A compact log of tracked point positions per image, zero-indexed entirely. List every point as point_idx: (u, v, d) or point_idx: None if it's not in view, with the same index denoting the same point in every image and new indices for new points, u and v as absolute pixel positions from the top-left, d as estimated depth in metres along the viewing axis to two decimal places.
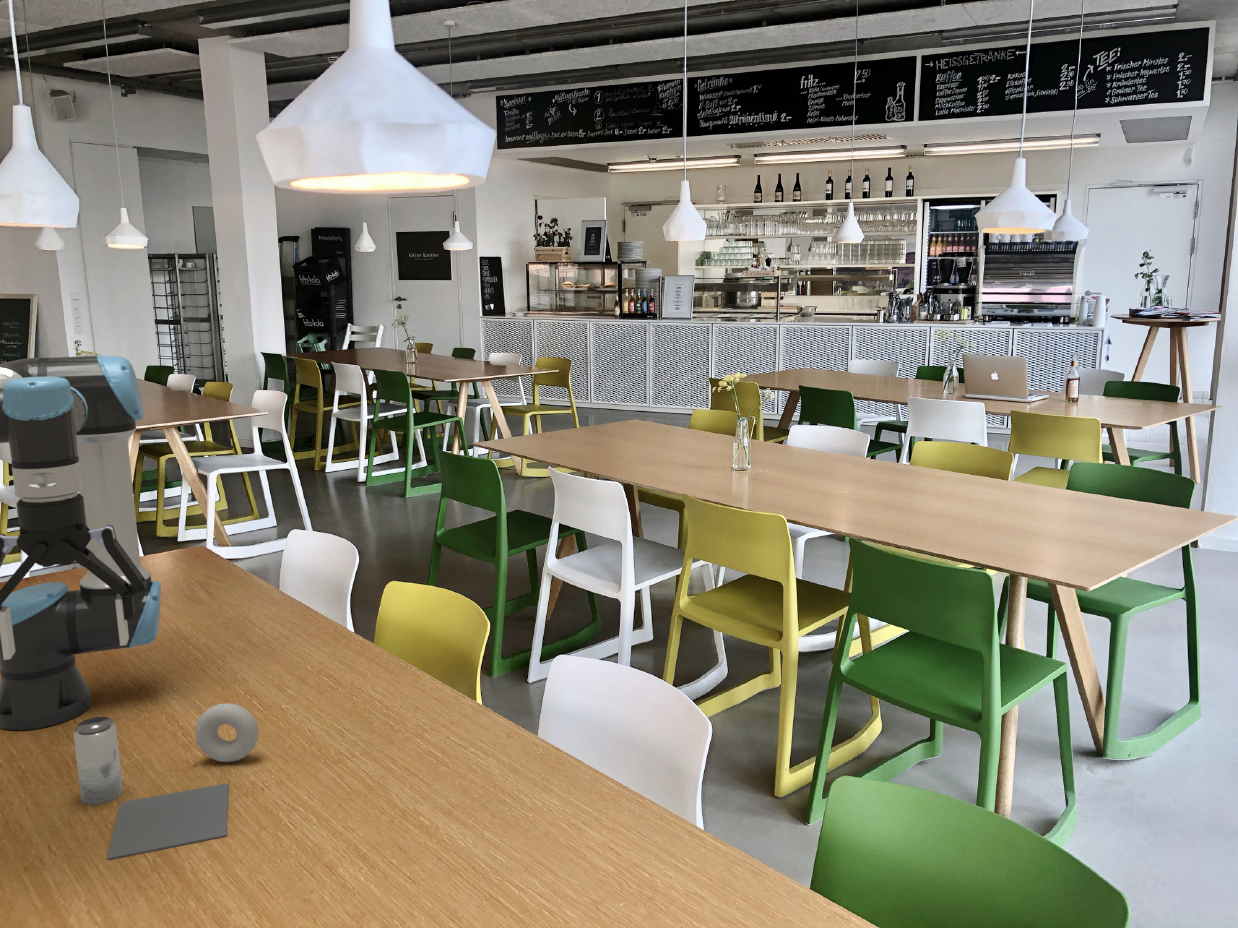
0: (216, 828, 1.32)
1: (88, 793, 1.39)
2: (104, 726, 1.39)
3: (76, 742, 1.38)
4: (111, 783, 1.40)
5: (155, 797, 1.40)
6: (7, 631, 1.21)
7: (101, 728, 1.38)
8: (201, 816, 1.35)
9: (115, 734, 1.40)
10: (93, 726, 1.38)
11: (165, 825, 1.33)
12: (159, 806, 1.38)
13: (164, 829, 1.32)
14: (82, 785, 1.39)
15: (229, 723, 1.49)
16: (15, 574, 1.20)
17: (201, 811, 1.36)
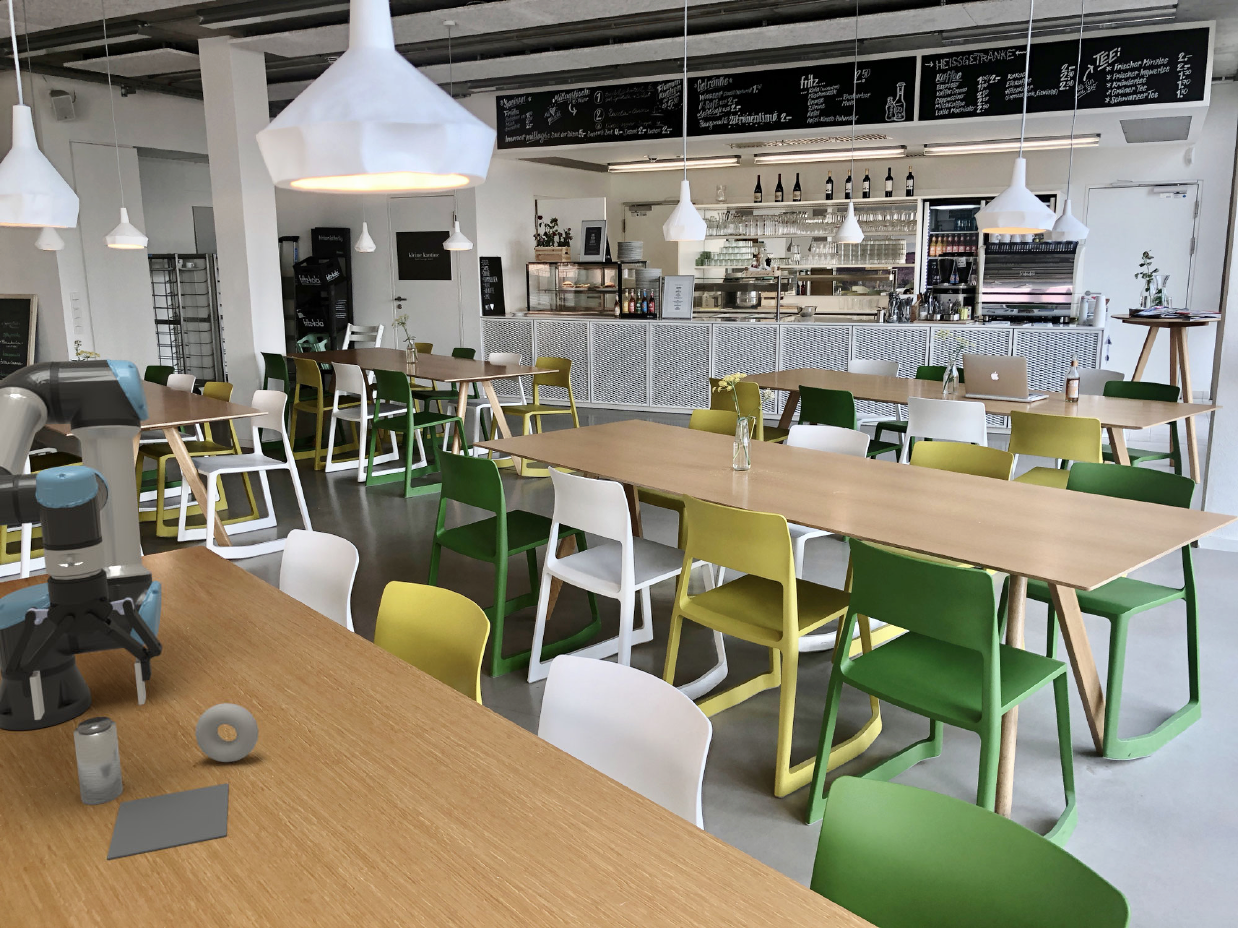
0: (216, 828, 1.32)
1: (88, 793, 1.39)
2: (104, 726, 1.39)
3: (76, 742, 1.37)
4: (111, 783, 1.40)
5: (155, 797, 1.40)
6: (38, 694, 1.35)
7: (101, 728, 1.38)
8: (201, 816, 1.35)
9: (115, 734, 1.40)
10: (93, 726, 1.38)
11: (165, 825, 1.33)
12: (159, 806, 1.38)
13: (164, 829, 1.32)
14: (82, 785, 1.39)
15: (229, 723, 1.49)
16: (45, 643, 1.34)
17: (201, 811, 1.36)
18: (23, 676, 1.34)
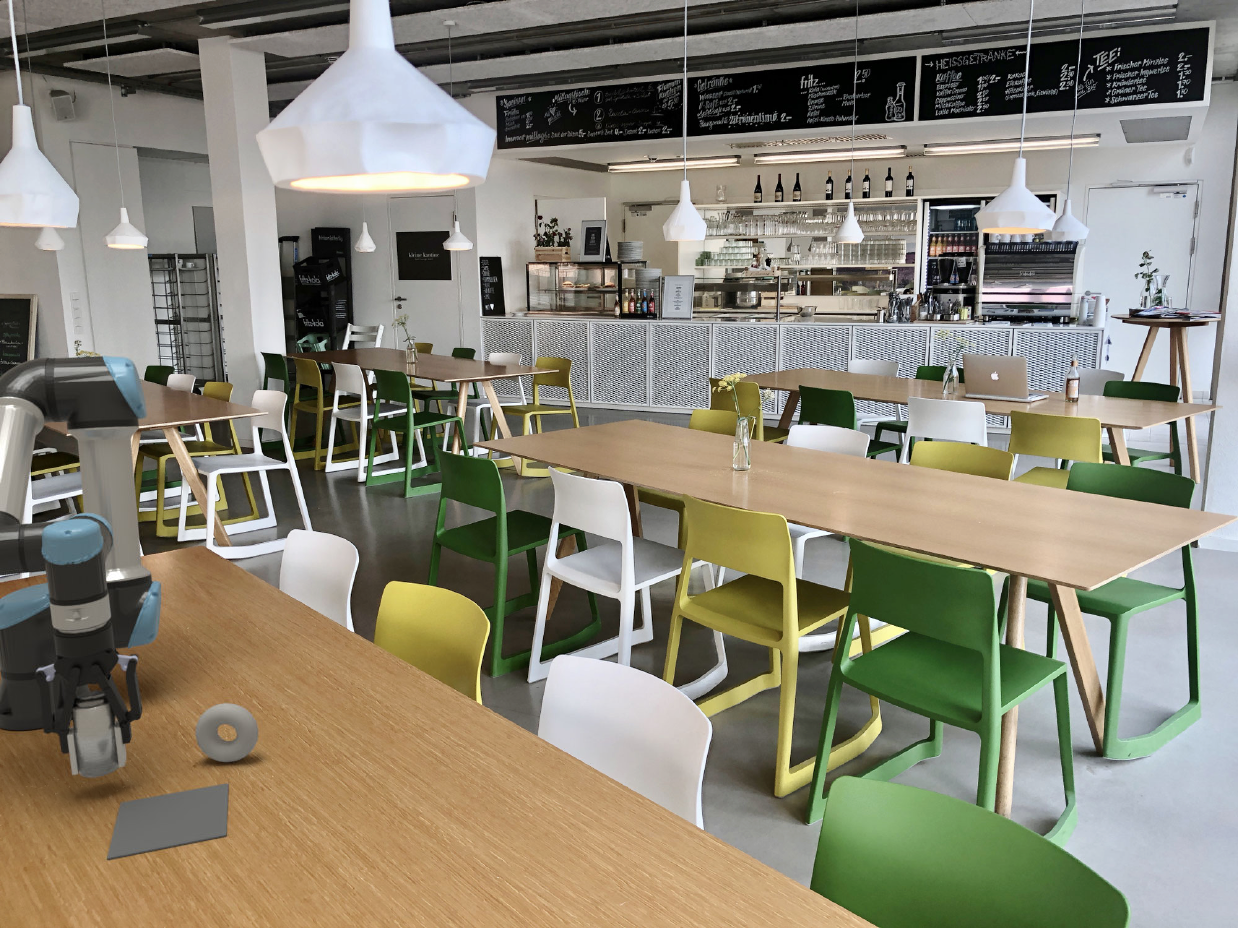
0: (216, 828, 1.32)
1: (86, 766, 1.39)
2: (102, 700, 1.38)
3: (74, 715, 1.37)
4: (109, 756, 1.40)
5: (155, 797, 1.40)
6: (75, 750, 1.39)
7: (99, 702, 1.38)
8: (201, 816, 1.35)
9: None
10: (91, 700, 1.38)
11: (165, 825, 1.33)
12: (159, 806, 1.38)
13: (164, 829, 1.32)
14: (80, 758, 1.39)
15: (229, 723, 1.49)
16: (66, 699, 1.37)
17: (201, 811, 1.36)
18: (62, 734, 1.37)
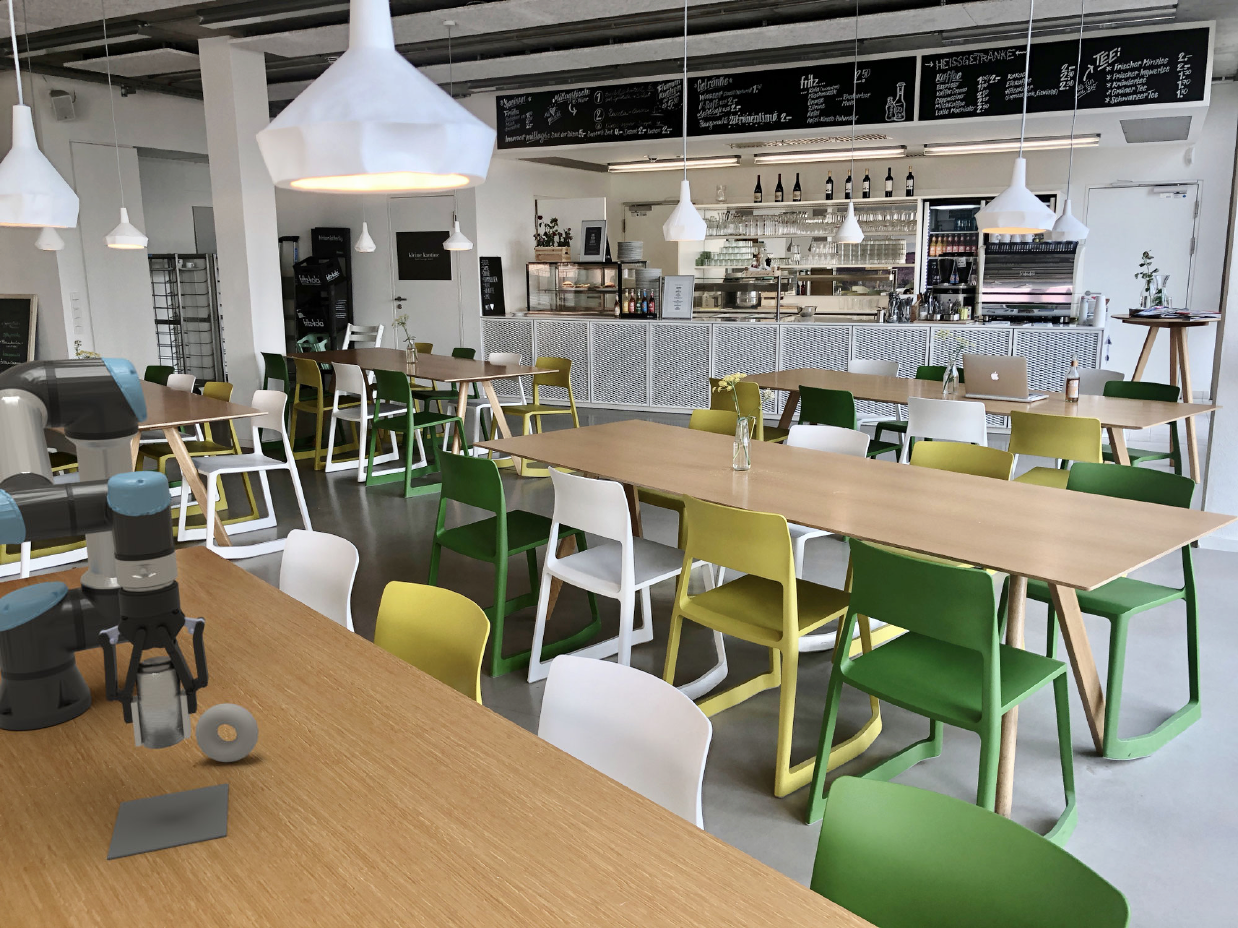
0: (216, 828, 1.32)
1: (150, 736, 1.30)
2: (167, 665, 1.30)
3: (138, 681, 1.28)
4: (175, 726, 1.31)
5: (155, 797, 1.40)
6: (139, 720, 1.30)
7: (165, 667, 1.29)
8: (201, 816, 1.35)
9: None
10: (156, 665, 1.29)
11: (165, 825, 1.33)
12: (159, 806, 1.38)
13: (164, 829, 1.32)
14: (144, 727, 1.30)
15: (229, 723, 1.49)
16: (131, 663, 1.28)
17: (201, 811, 1.36)
18: (126, 702, 1.29)
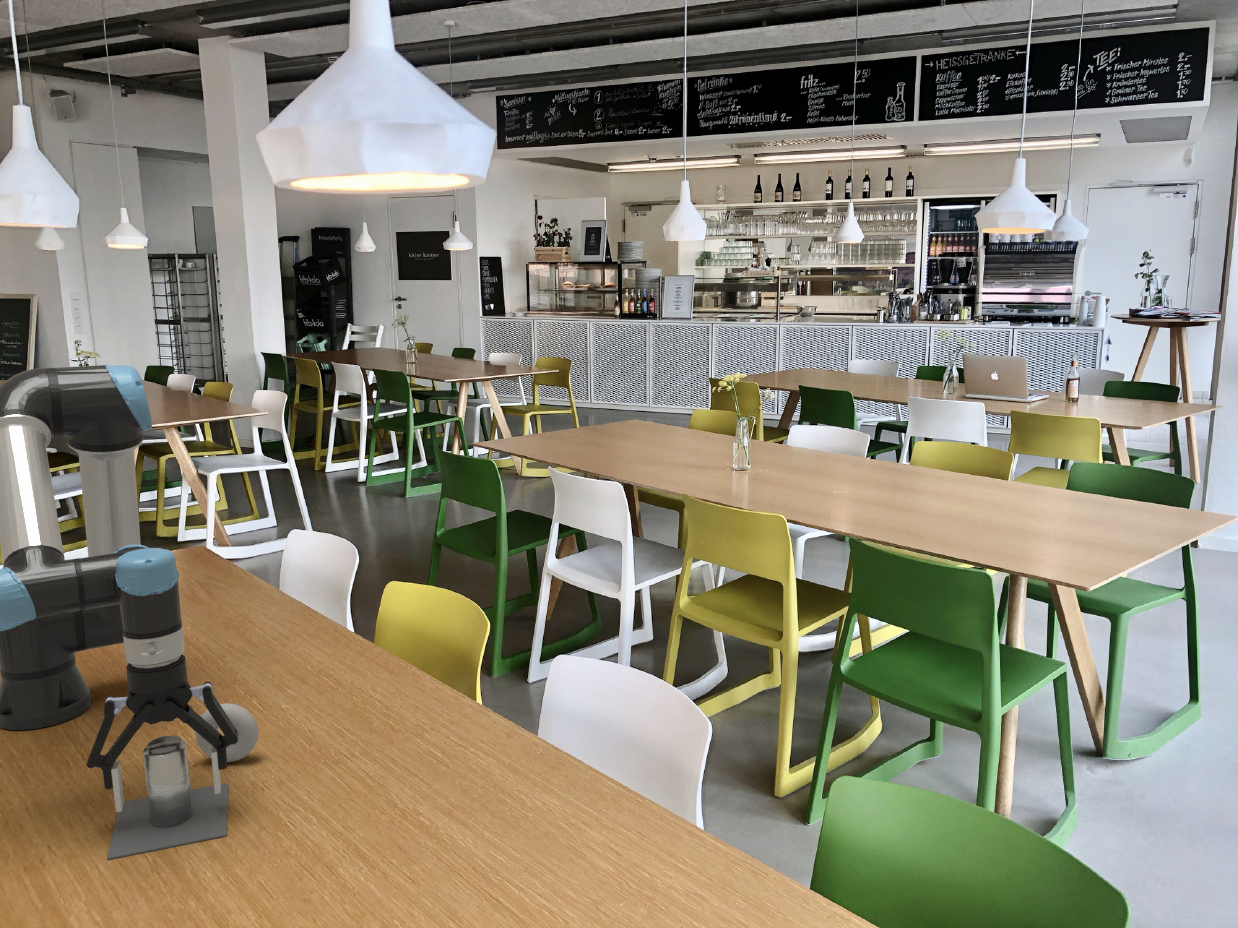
0: (216, 828, 1.32)
1: (158, 816, 1.32)
2: (175, 746, 1.32)
3: (146, 763, 1.31)
4: (182, 805, 1.33)
5: None
6: (119, 785, 1.30)
7: (172, 748, 1.32)
8: (201, 816, 1.35)
9: (186, 754, 1.34)
10: (164, 746, 1.32)
11: None
12: None
13: (164, 829, 1.32)
14: (152, 807, 1.32)
15: None
16: (126, 733, 1.29)
17: (201, 811, 1.36)
18: (105, 768, 1.29)
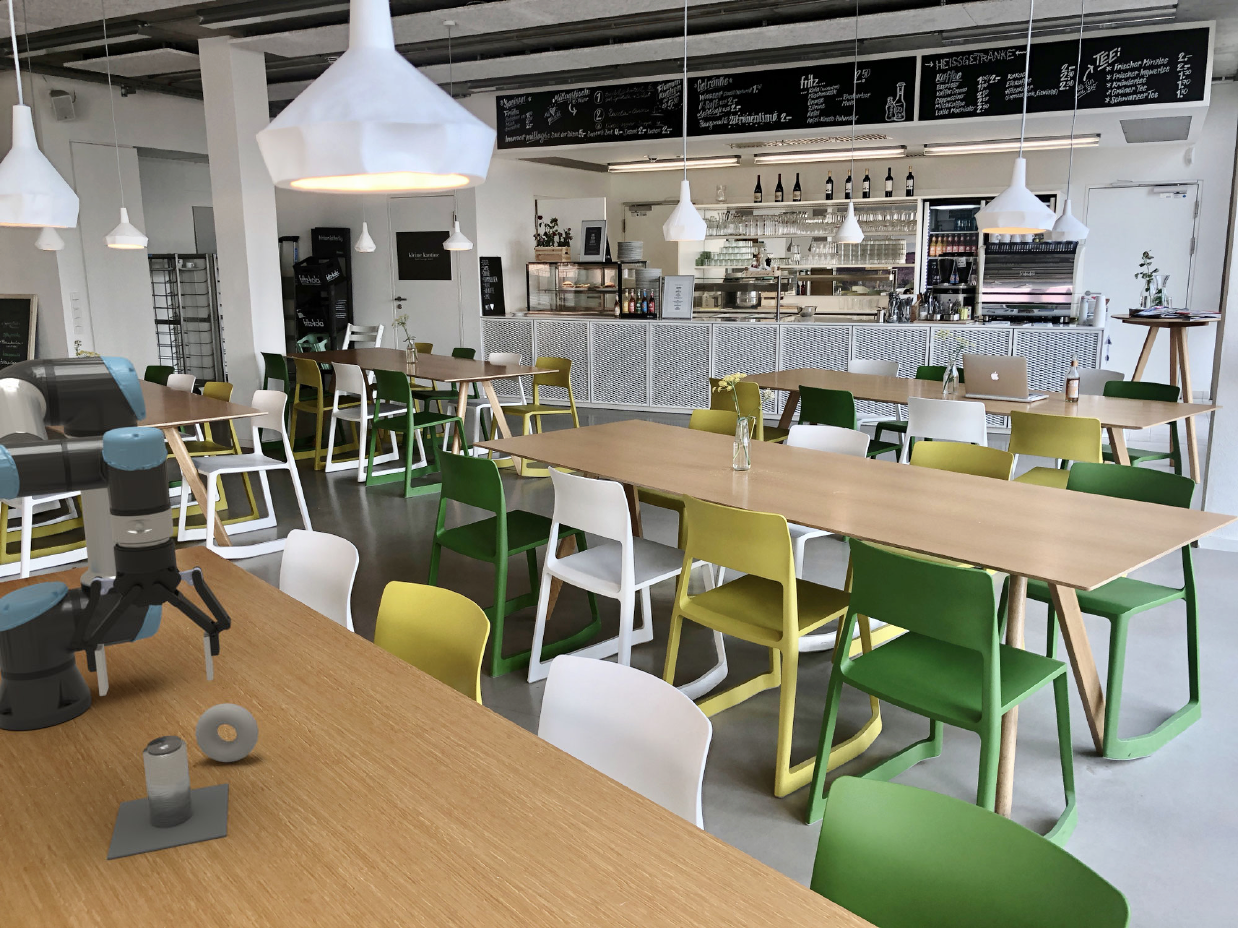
0: (216, 828, 1.32)
1: (158, 816, 1.32)
2: (175, 746, 1.32)
3: (146, 763, 1.31)
4: (182, 805, 1.33)
5: None
6: (103, 668, 1.27)
7: (172, 748, 1.32)
8: (201, 816, 1.35)
9: (186, 754, 1.34)
10: (164, 746, 1.32)
11: None
12: None
13: (164, 829, 1.32)
14: (152, 807, 1.32)
15: (229, 723, 1.49)
16: (111, 615, 1.26)
17: (201, 811, 1.36)
18: (88, 649, 1.26)
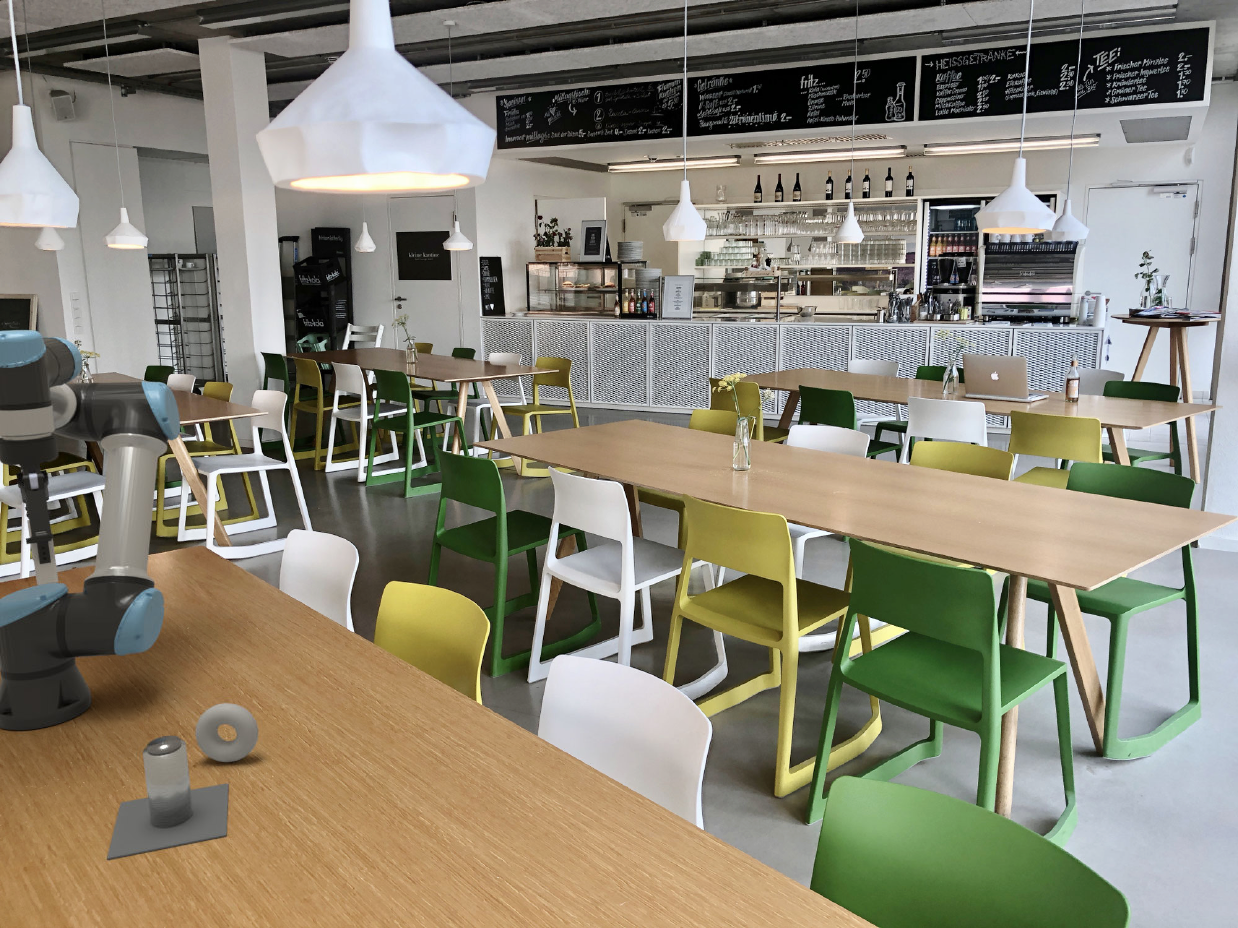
0: (216, 828, 1.32)
1: (158, 816, 1.32)
2: (175, 746, 1.32)
3: (146, 763, 1.31)
4: (182, 806, 1.33)
5: None
6: None
7: (172, 748, 1.31)
8: (201, 816, 1.35)
9: (186, 754, 1.34)
10: (163, 746, 1.32)
11: None
12: None
13: (164, 829, 1.32)
14: (152, 807, 1.32)
15: (229, 723, 1.49)
16: None
17: (201, 811, 1.36)
18: None
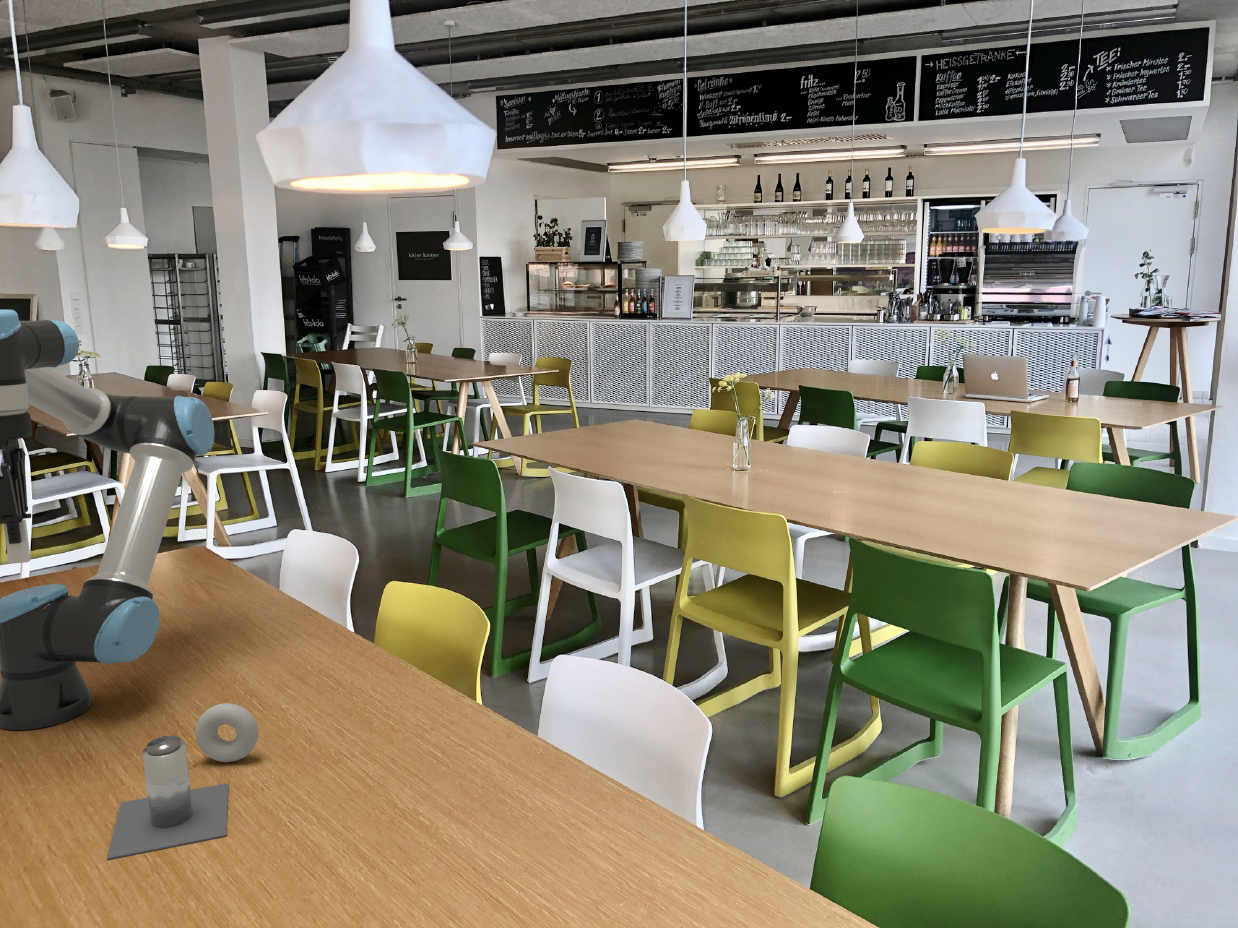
0: (216, 828, 1.32)
1: (158, 816, 1.32)
2: (174, 746, 1.32)
3: (146, 763, 1.31)
4: (182, 806, 1.33)
5: None
6: (9, 539, 1.43)
7: (171, 749, 1.31)
8: (201, 816, 1.35)
9: (185, 754, 1.34)
10: (163, 746, 1.32)
11: None
12: None
13: (164, 829, 1.32)
14: (152, 807, 1.32)
15: (229, 723, 1.49)
16: None
17: (201, 811, 1.36)
18: None
